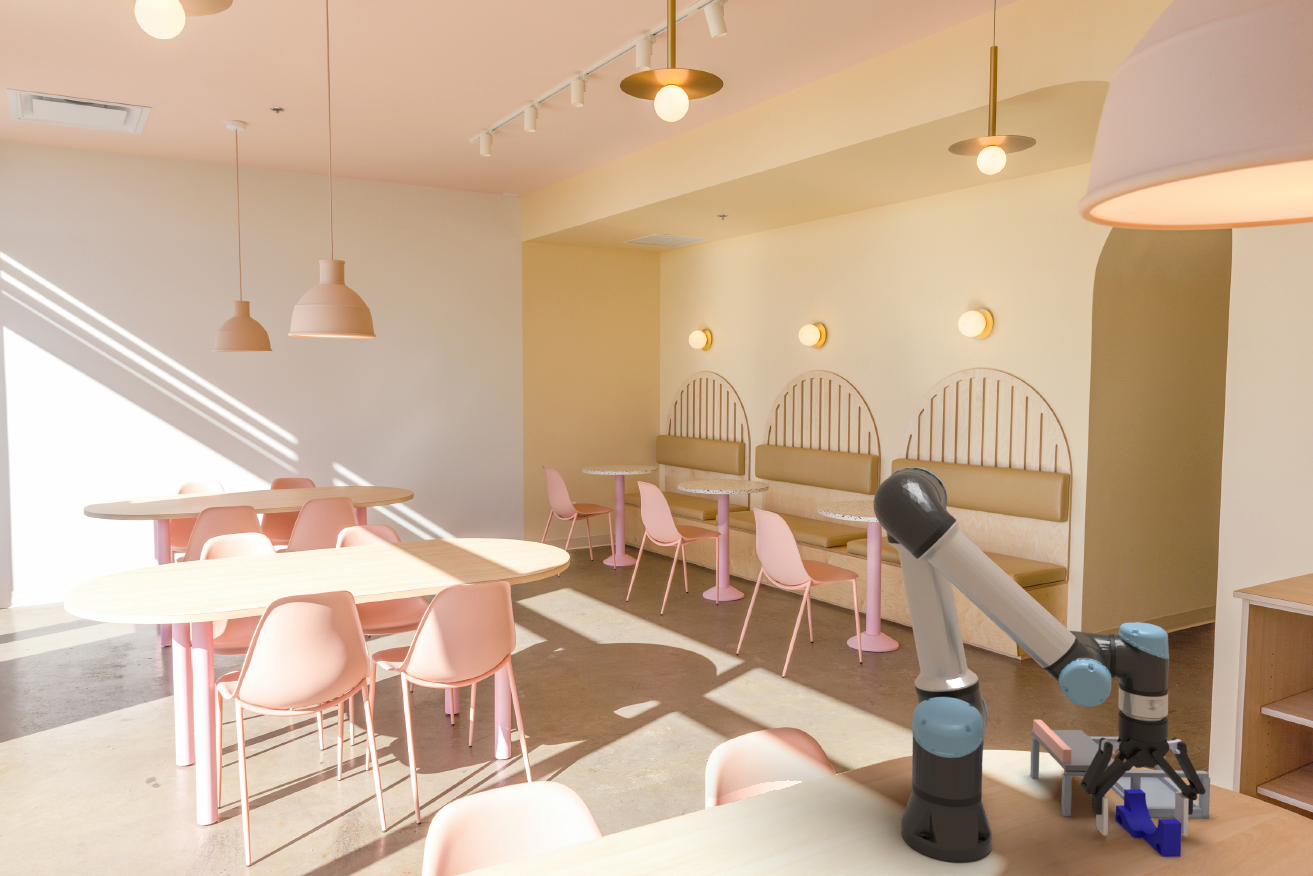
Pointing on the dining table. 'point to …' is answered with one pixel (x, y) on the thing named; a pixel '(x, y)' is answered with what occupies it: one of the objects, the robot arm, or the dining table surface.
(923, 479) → the robot arm
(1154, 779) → the grey frame rack
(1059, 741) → the lid
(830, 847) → the dining table surface
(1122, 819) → the blue bracket
